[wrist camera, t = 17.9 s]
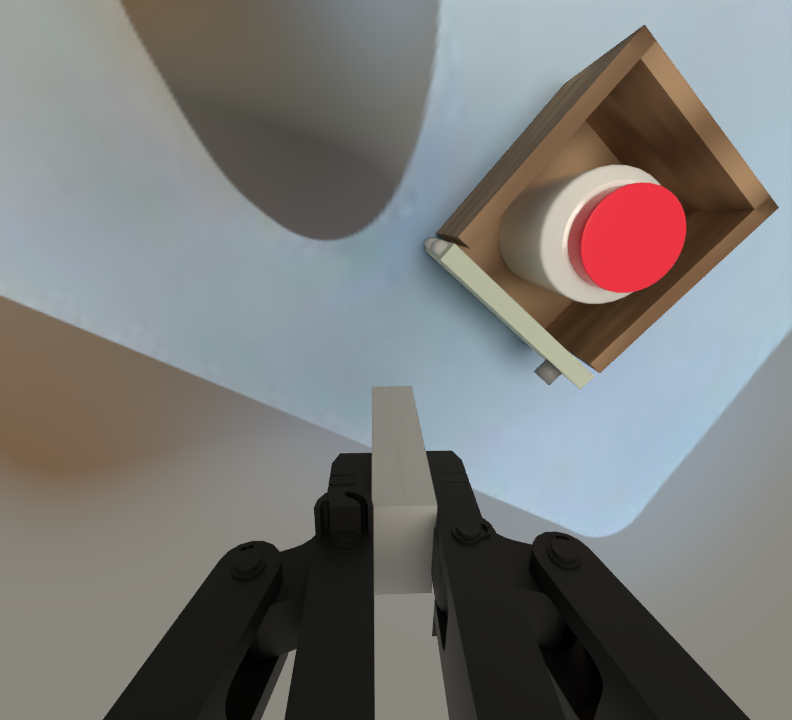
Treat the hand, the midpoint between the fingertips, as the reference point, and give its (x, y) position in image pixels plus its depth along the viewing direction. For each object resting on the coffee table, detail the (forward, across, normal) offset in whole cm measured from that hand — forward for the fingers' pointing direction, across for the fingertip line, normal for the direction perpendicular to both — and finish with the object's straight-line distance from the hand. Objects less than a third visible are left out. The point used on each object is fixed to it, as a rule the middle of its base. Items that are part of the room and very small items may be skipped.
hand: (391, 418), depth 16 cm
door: (+19, +8, +1) cm, 20 cm away
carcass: (+19, +14, +7) cm, 24 cm away
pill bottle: (+18, +13, +6) cm, 23 cm away
